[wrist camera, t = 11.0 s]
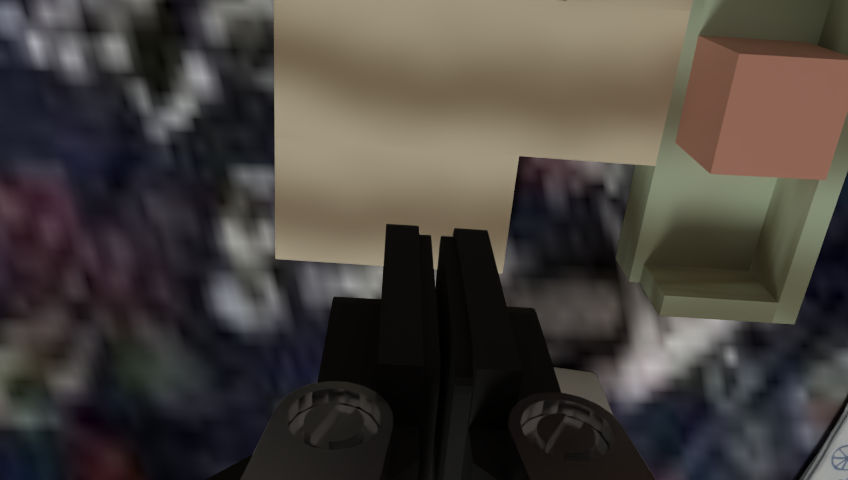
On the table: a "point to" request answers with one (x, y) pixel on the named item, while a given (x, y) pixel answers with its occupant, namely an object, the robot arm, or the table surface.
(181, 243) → the table surface
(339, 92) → the trap deck
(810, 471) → the white patterned board
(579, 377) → the medicine bottle
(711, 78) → the block
